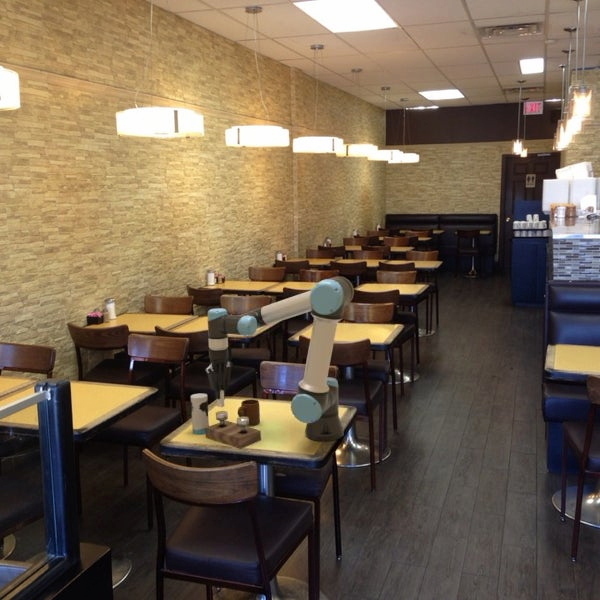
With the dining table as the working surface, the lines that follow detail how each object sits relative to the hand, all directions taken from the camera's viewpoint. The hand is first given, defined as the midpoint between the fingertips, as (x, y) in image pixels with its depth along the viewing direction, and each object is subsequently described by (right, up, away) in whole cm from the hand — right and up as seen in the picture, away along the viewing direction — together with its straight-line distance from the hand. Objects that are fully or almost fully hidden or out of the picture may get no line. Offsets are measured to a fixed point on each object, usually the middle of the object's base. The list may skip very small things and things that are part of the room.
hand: (220, 406), depth 265 cm
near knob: (+9, -9, -7) cm, 15 cm away
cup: (-9, -12, +7) cm, 17 cm away
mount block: (+5, -12, -2) cm, 14 cm away
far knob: (0, -8, +1) cm, 8 cm away
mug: (+10, -10, +14) cm, 20 cm away
